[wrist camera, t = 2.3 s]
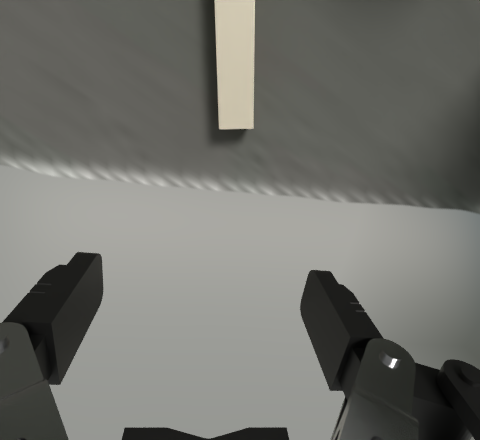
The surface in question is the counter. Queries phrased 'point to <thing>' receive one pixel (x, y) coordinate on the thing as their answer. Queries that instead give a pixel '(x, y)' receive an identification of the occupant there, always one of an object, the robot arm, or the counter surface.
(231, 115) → the plug rod
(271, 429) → the robot arm
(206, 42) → the counter surface
